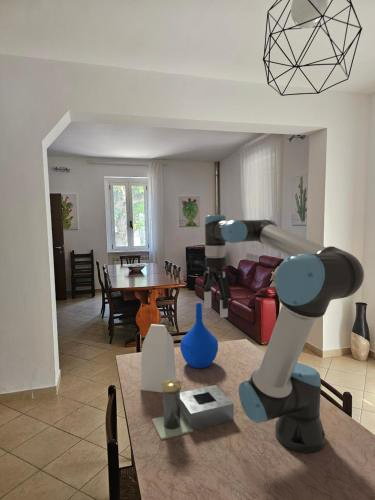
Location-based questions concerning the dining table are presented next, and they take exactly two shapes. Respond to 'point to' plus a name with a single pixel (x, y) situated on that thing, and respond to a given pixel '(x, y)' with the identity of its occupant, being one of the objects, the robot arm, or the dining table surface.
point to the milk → (157, 359)
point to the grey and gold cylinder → (171, 403)
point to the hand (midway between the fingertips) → (215, 312)
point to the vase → (199, 343)
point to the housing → (205, 407)
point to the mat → (169, 433)
